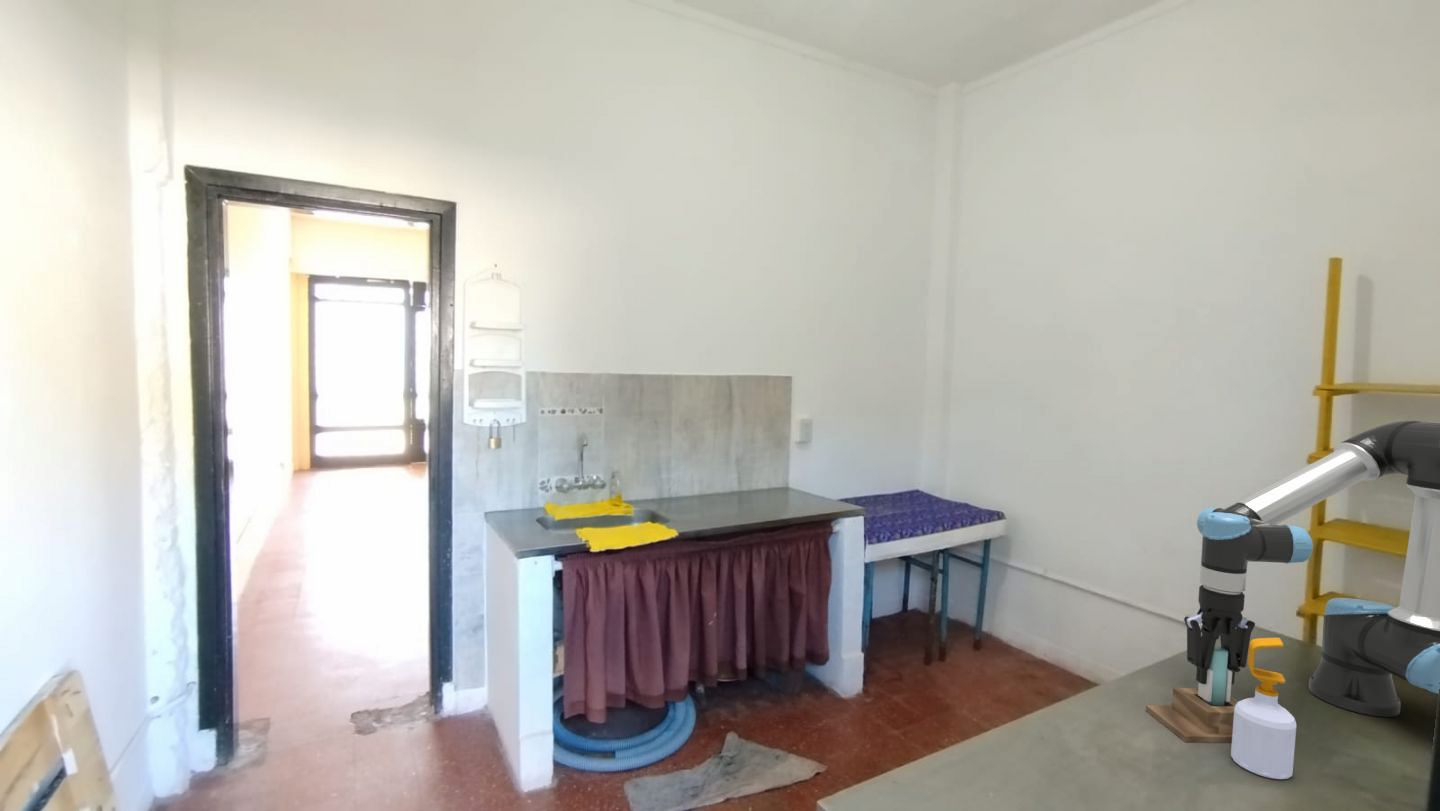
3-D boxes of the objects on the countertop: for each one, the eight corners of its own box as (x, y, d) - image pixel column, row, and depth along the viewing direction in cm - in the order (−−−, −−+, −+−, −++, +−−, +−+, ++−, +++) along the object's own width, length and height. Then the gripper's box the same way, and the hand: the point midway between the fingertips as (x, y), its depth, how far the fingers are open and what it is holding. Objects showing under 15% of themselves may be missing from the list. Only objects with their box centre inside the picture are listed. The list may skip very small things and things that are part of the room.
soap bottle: (1297, 786, 119) (1308, 653, 117) (1233, 769, 123) (1243, 641, 122) (1287, 762, 126) (1297, 636, 125) (1227, 746, 131) (1236, 625, 129)
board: (1235, 711, 144) (1237, 686, 144) (1283, 743, 132) (1285, 715, 132) (1145, 710, 144) (1147, 685, 144) (1185, 742, 132) (1187, 714, 132)
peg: (1214, 709, 140) (1219, 645, 139) (1227, 718, 136) (1232, 653, 136) (1197, 709, 140) (1202, 645, 139) (1210, 718, 136) (1215, 652, 135)
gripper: (1246, 583, 140) (1237, 690, 142) (1170, 581, 140) (1162, 689, 142) (1276, 595, 133) (1267, 708, 134) (1196, 594, 133) (1188, 707, 134)
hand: (1213, 698), depth 138 cm, fingers closed on peg, 3 cm apart
